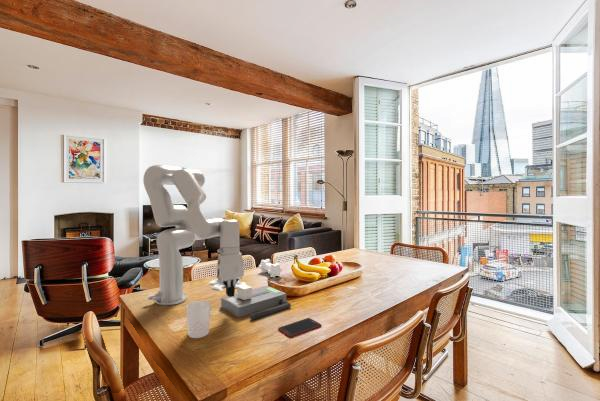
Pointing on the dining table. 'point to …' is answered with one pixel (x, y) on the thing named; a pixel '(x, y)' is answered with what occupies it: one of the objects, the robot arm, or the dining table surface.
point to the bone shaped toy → (270, 268)
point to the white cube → (244, 292)
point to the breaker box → (253, 301)
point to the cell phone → (299, 327)
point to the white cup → (198, 318)
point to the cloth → (221, 286)
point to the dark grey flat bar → (271, 310)
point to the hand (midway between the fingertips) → (230, 295)
